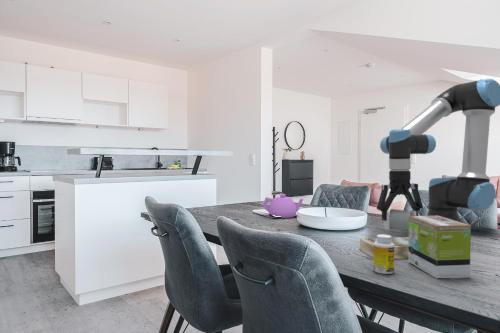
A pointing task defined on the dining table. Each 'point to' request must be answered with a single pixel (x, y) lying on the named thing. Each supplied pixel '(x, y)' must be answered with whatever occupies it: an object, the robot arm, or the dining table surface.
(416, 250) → the tea box
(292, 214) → the teapot
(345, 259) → the dining table surface
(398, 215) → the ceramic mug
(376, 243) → the supplement bottle
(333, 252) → the dining table surface
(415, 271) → the dining table surface
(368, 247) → the dock
